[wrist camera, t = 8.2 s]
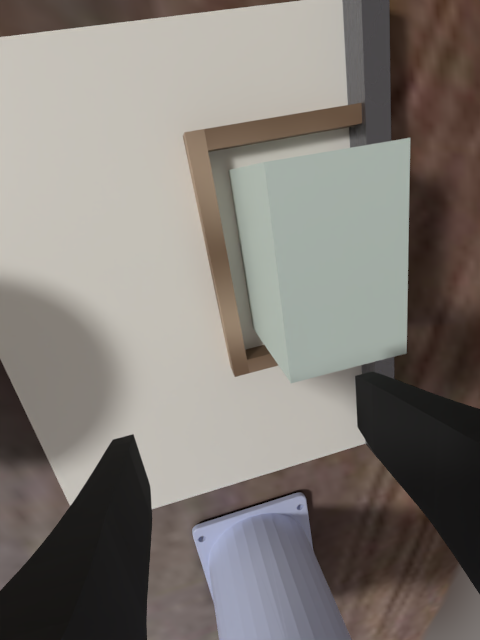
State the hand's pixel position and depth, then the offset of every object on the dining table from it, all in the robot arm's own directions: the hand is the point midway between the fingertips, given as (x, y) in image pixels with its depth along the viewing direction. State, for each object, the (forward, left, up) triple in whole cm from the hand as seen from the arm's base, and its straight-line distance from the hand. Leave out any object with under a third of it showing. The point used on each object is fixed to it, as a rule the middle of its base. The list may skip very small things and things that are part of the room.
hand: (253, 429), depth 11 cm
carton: (+4, -5, -9) cm, 10 cm away
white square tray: (+2, 0, -9) cm, 9 cm away
